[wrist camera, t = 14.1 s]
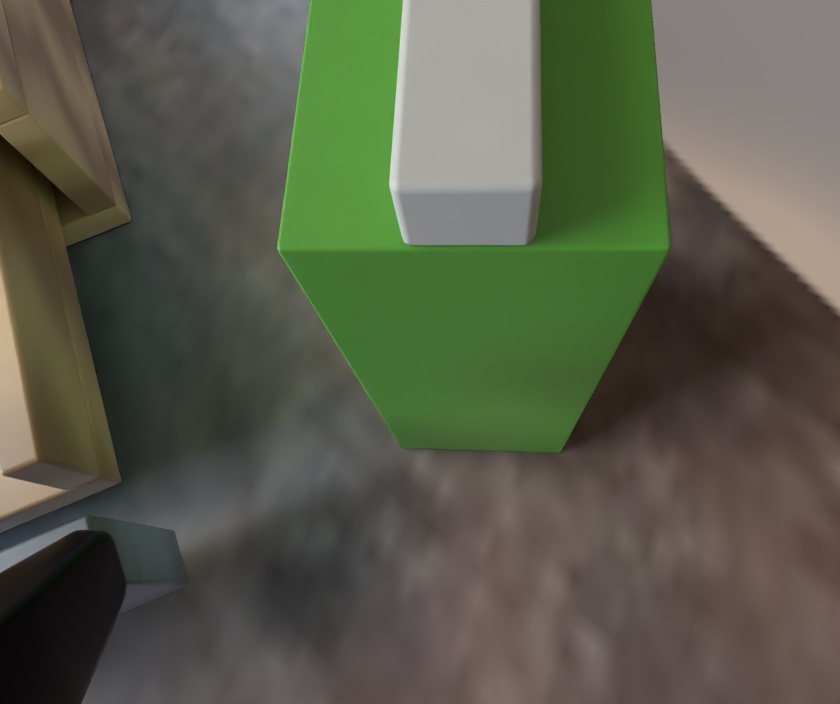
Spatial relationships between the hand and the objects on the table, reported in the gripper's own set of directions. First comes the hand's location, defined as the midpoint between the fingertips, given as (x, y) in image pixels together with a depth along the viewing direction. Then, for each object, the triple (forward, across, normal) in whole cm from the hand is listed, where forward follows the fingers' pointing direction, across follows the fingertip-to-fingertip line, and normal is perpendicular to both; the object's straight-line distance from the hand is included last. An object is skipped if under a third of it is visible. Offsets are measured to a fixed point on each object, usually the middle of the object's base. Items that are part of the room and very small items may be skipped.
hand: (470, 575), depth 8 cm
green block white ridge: (+8, 0, +1) cm, 8 cm away
